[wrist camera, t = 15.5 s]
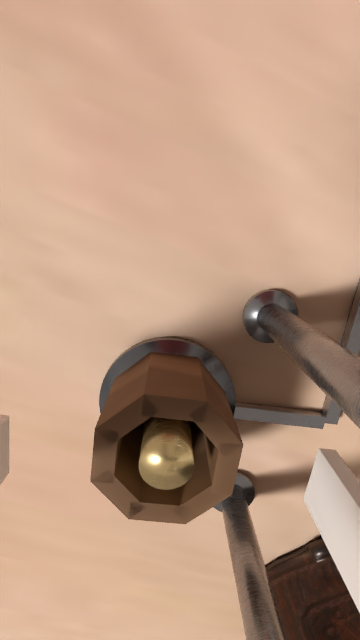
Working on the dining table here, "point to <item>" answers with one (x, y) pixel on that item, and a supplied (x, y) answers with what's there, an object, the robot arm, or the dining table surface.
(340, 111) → the dining table surface
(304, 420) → the wire course
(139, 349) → the brass peg
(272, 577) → the brown coffee grinder
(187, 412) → the napkin ring
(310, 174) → the dining table surface
